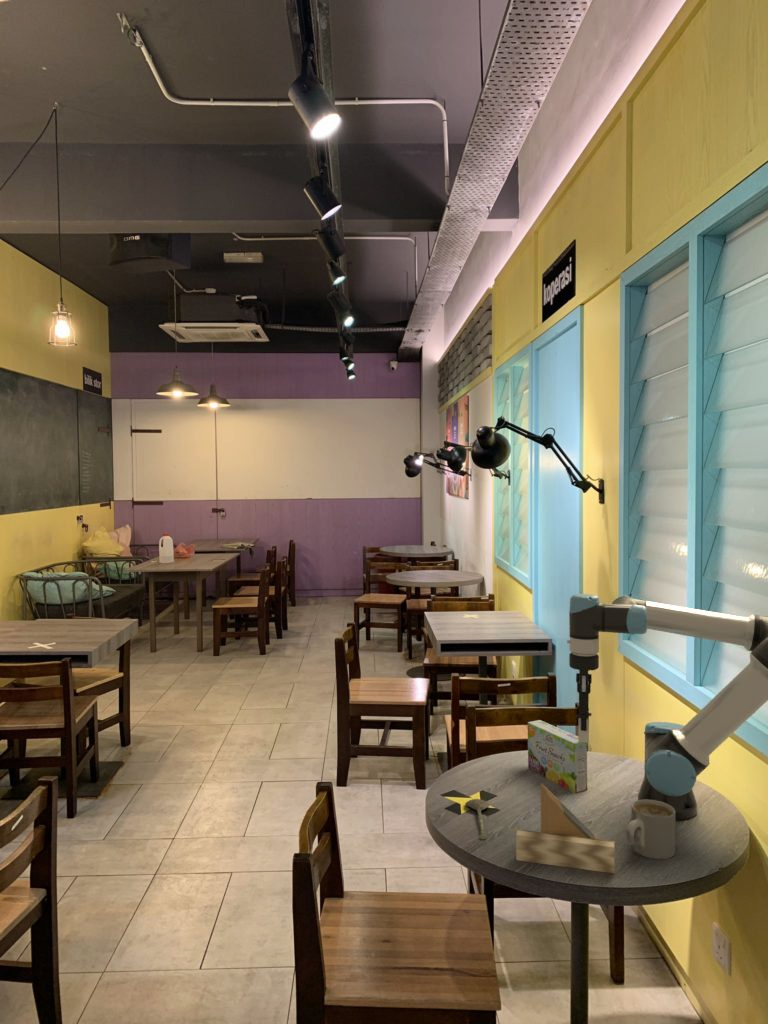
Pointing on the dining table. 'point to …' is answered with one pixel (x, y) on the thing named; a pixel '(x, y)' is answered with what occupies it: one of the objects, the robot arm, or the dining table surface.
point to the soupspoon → (479, 812)
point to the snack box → (557, 756)
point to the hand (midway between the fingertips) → (583, 741)
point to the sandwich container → (560, 818)
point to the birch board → (565, 850)
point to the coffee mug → (652, 829)
